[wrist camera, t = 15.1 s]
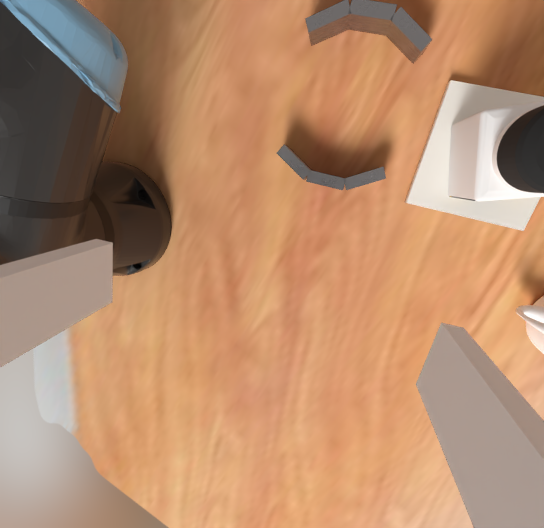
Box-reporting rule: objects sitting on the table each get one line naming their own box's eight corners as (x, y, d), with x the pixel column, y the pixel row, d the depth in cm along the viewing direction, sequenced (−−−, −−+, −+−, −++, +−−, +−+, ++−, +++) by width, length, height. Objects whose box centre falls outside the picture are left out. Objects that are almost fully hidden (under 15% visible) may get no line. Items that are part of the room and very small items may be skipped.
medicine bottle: (446, 197, 32) (506, 207, 20) (450, 124, 30) (517, 91, 18) (525, 190, 30) (637, 198, 19) (534, 113, 28) (664, 69, 17)
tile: (404, 202, 33) (406, 202, 33) (447, 82, 30) (450, 80, 29) (519, 229, 32) (523, 230, 31) (580, 106, 28) (587, 104, 27)
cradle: (277, 173, 35) (272, 173, 33) (313, 9, 30) (311, -9, 27) (375, 197, 34) (379, 198, 31) (431, 27, 29) (441, 11, 26)
